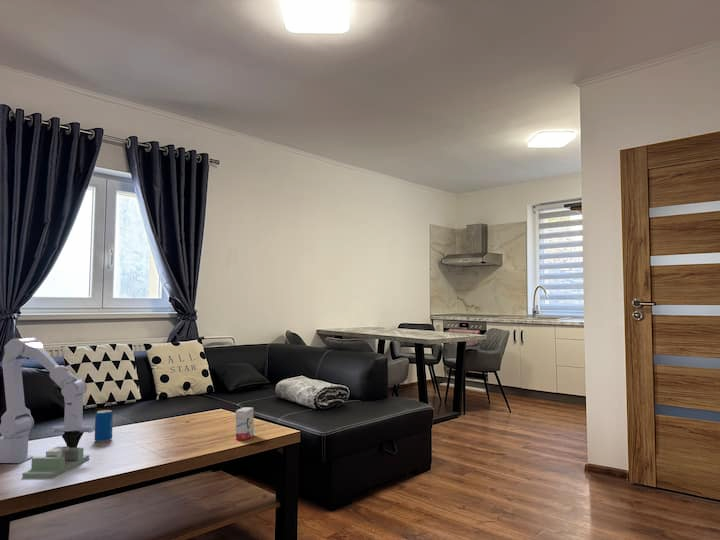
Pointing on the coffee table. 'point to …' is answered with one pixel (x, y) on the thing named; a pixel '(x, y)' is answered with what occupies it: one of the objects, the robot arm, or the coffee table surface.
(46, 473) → the vise
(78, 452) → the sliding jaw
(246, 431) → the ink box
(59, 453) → the steel block
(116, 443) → the coffee table surface
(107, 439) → the beverage can
